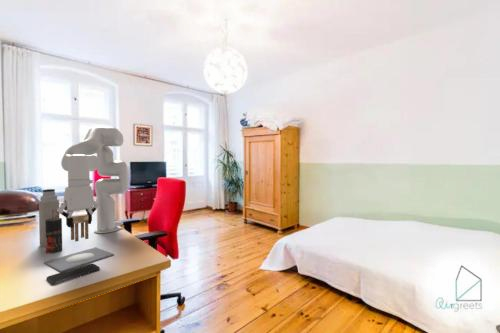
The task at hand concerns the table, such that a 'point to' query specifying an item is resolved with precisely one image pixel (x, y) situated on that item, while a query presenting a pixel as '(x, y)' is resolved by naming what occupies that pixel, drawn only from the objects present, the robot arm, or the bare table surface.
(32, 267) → the table surface
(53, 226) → the deodorant
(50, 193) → the thermos bottle
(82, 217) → the stool
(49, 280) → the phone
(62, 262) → the mat
